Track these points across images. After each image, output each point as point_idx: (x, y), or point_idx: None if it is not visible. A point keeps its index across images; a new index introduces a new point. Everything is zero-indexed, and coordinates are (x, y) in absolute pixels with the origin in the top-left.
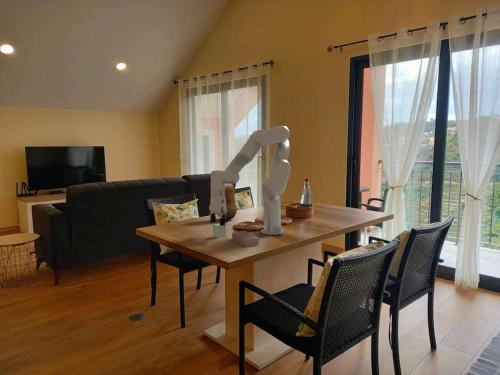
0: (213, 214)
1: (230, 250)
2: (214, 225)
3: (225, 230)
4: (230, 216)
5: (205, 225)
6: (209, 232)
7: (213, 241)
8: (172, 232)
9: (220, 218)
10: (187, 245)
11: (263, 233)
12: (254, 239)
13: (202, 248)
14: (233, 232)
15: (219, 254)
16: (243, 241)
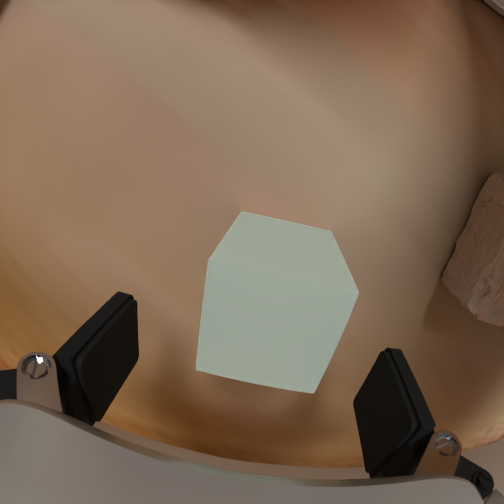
0: (72, 408)
1: (488, 398)
2: (233, 372)
3: (340, 257)
4: None
5: None
6: (88, 207)
7: (335, 375)
8: (9, 327)
9: (381, 475)
10: (265, 457)
11: (495, 10)
12: None
13: None
14: (481, 306)
15: (461, 437)
16: None
